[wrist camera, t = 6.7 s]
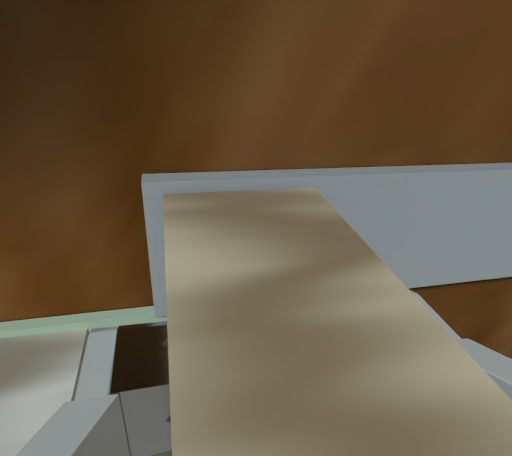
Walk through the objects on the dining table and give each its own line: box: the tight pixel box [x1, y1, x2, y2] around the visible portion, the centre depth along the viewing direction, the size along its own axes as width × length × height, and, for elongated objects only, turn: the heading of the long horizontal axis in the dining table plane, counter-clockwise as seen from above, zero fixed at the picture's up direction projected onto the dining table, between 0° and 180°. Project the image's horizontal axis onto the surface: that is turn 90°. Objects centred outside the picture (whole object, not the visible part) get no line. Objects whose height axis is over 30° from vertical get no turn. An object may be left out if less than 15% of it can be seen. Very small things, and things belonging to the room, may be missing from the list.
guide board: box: [141, 163, 512, 317], centre depth 13 cm, size 18×4×1 cm, turn 87°
